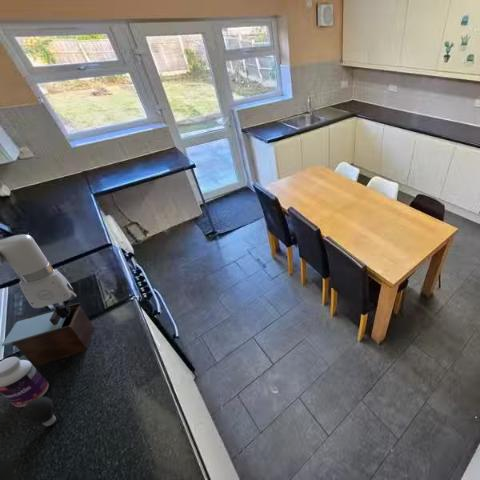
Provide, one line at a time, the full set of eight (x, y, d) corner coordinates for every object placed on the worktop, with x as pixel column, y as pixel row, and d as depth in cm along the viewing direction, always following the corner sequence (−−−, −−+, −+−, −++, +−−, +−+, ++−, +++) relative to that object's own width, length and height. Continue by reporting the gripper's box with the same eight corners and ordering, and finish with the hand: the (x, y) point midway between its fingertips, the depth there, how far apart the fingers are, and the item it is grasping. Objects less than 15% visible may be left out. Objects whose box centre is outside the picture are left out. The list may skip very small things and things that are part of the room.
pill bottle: (9, 413, 78) (-25, 383, 71) (22, 388, 84) (-7, 359, 77) (44, 401, 81) (15, 371, 73) (54, 378, 87) (29, 348, 80)
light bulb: (63, 425, 74) (43, 405, 69) (36, 438, 72) (13, 418, 67) (66, 408, 79) (47, 388, 74) (40, 420, 76) (19, 400, 71)
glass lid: (2, 346, 84) (-4, 339, 83) (17, 322, 93) (12, 316, 91) (60, 328, 90) (56, 322, 88) (70, 308, 98) (65, 302, 96)
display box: (34, 368, 90) (11, 343, 84) (47, 341, 100) (28, 316, 94) (87, 351, 96) (69, 326, 89) (94, 326, 106) (79, 302, 99)
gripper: (-2, 287, 79) (34, 330, 88) (62, 272, 84) (90, 314, 93) (10, 273, 84) (43, 315, 94) (69, 260, 90) (94, 301, 99)
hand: (66, 315), depth 93 cm, fingers closed
